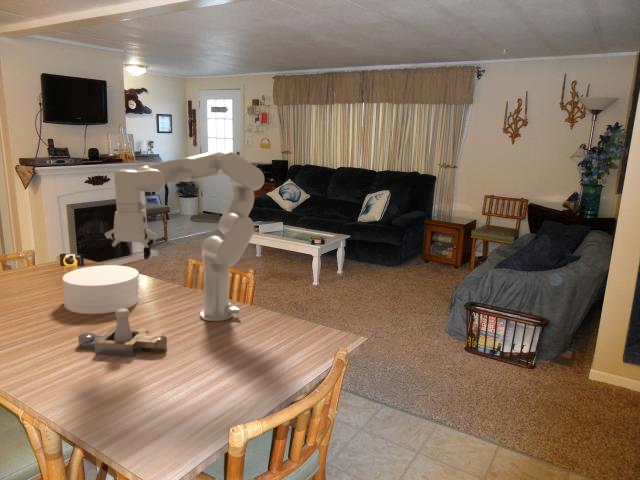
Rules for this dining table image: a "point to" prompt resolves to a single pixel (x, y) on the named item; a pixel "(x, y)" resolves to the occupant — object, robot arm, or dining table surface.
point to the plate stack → (101, 289)
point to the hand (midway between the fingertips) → (132, 257)
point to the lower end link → (89, 343)
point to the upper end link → (133, 341)
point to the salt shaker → (122, 326)
